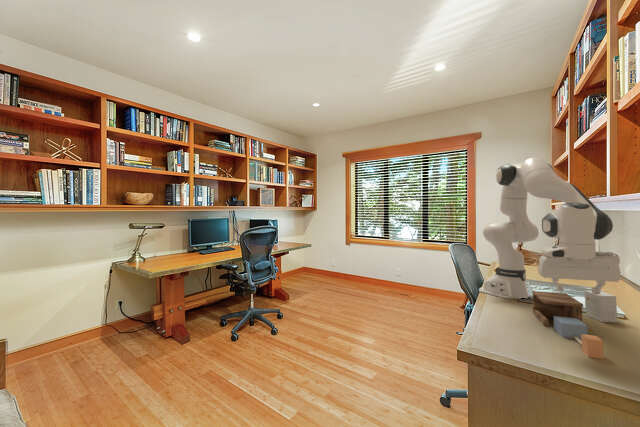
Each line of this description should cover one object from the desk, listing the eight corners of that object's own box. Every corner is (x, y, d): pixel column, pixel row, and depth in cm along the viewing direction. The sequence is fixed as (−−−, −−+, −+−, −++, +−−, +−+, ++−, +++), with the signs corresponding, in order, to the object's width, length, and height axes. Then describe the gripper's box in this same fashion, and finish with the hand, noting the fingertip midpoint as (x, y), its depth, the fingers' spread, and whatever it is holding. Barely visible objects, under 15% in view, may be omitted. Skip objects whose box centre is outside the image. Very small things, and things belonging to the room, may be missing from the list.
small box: (617, 323, 104) (616, 296, 104) (600, 322, 105) (599, 295, 105) (600, 315, 112) (599, 290, 112) (585, 314, 113) (584, 290, 113)
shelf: (533, 313, 116) (532, 291, 116) (566, 317, 111) (566, 293, 111) (545, 327, 103) (544, 301, 103) (584, 331, 98) (583, 304, 98)
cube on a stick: (554, 329, 101) (553, 314, 101) (578, 331, 98) (577, 316, 98) (580, 355, 82) (579, 338, 82) (611, 360, 79) (610, 341, 79)
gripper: (613, 250, 87) (613, 292, 88) (536, 248, 96) (536, 286, 96) (625, 254, 81) (626, 298, 82) (542, 251, 90) (543, 292, 90)
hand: (577, 292), depth 89 cm, fingers open, 8 cm apart
